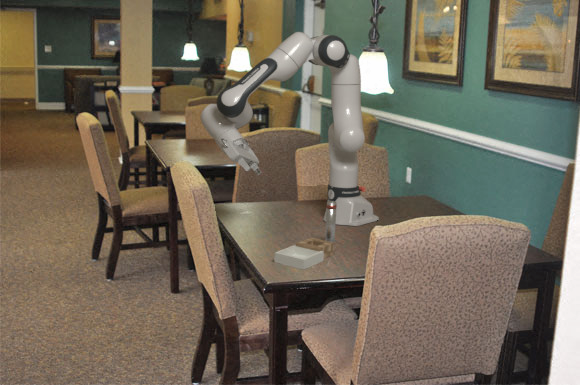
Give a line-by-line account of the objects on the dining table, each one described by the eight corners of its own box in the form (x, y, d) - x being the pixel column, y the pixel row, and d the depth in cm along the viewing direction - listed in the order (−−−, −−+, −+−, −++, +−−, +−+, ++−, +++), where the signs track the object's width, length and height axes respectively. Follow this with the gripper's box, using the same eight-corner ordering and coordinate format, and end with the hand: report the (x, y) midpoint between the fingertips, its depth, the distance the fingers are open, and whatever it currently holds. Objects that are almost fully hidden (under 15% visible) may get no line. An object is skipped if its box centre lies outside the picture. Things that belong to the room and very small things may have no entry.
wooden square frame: (310, 249, 219) (311, 237, 218) (333, 254, 214) (334, 242, 213) (295, 255, 212) (295, 243, 211) (318, 261, 207) (319, 248, 206)
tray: (294, 254, 213) (294, 244, 212) (323, 261, 207) (323, 251, 206) (274, 262, 204) (274, 252, 204) (303, 269, 198) (304, 259, 198)
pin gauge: (330, 246, 222) (332, 200, 219) (336, 249, 220) (338, 202, 216) (322, 248, 221) (324, 201, 217) (328, 250, 218) (330, 203, 215)
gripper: (225, 131, 222) (249, 161, 218) (249, 142, 242) (271, 170, 238) (212, 143, 224) (235, 174, 220) (236, 153, 243) (258, 181, 239)
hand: (254, 172), depth 229 cm, fingers open, 8 cm apart
